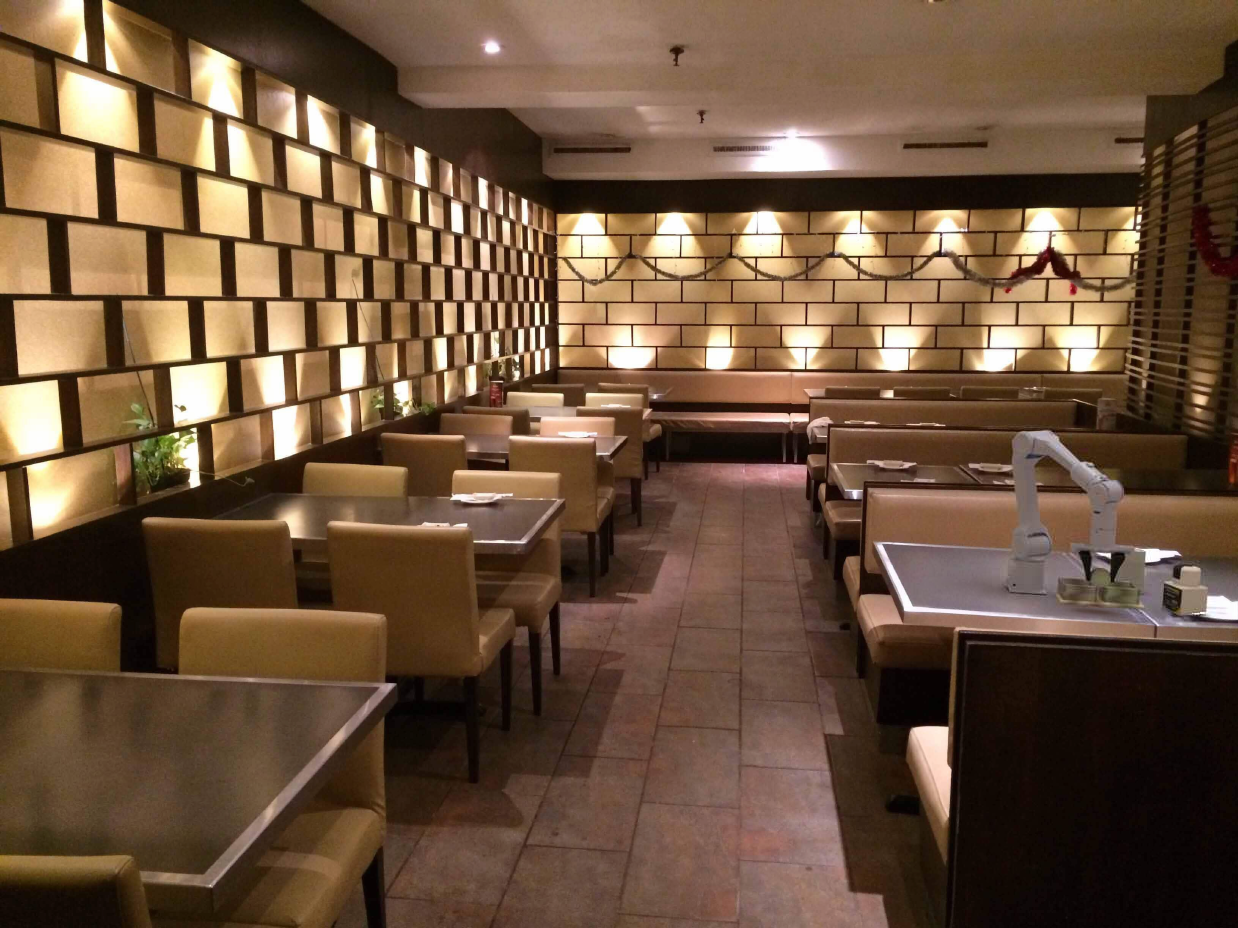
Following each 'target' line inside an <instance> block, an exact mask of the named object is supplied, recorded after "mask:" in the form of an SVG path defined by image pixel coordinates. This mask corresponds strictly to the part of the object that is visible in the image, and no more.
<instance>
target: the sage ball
mask: <svg viewBox="0 0 1238 928" xmlns="http://www.w3.org/2000/svg"><path fill="white" fill-rule="evenodd" d="M1110 581H1111V575H1110V571H1109V570H1107V569H1106V568H1103V567H1095V568H1093V569H1092V570H1091V578H1090V582H1091V583H1092V584H1093V585H1094V586H1096V587H1105V586H1107V585H1108V584H1109V583H1110Z"/></svg>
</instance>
